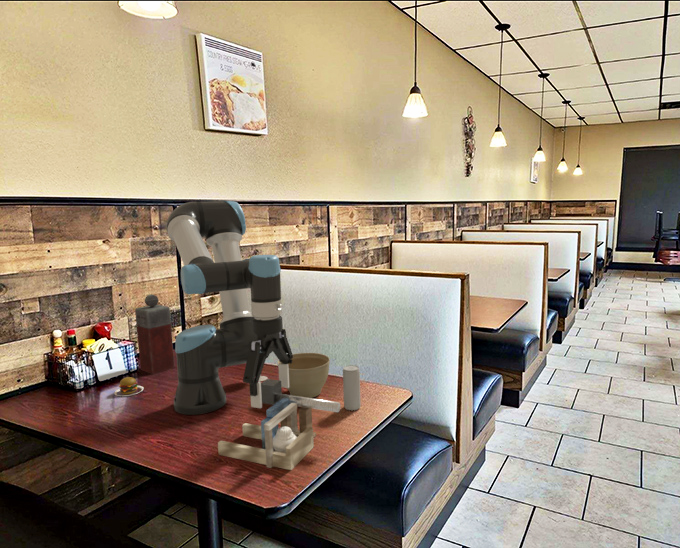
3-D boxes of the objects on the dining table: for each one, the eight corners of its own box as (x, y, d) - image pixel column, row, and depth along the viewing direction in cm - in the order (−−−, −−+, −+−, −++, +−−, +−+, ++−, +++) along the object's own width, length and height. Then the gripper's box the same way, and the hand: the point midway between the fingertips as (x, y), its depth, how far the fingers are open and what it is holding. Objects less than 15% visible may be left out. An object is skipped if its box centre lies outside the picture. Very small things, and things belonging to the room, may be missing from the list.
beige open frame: (216, 456, 115) (213, 415, 113) (247, 432, 126) (245, 395, 125) (289, 472, 107) (287, 428, 105) (315, 445, 118) (313, 406, 117)
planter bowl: (290, 382, 161) (288, 351, 160) (336, 386, 157) (335, 353, 155) (270, 401, 146) (268, 367, 144) (321, 406, 141) (320, 370, 140)
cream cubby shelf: (277, 436, 123) (276, 407, 122) (285, 430, 127) (284, 401, 126) (308, 442, 120) (307, 412, 119) (316, 435, 123) (314, 405, 122)
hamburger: (149, 384, 166) (147, 369, 165) (148, 397, 154) (147, 380, 154) (110, 390, 161) (109, 374, 161) (107, 403, 150) (105, 386, 149)
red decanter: (159, 362, 188) (153, 291, 184) (175, 367, 181) (168, 293, 177) (137, 368, 181) (130, 295, 177) (152, 374, 174) (145, 297, 170)
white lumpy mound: (291, 463, 110) (290, 434, 109) (267, 459, 112) (266, 431, 111) (302, 450, 116) (301, 422, 115) (279, 446, 118) (278, 419, 117)
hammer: (240, 449, 116) (237, 398, 115) (270, 425, 129) (267, 378, 127) (319, 465, 108) (316, 410, 106) (342, 438, 120) (341, 388, 118)
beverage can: (359, 411, 137) (358, 370, 135) (342, 410, 138) (341, 370, 136) (361, 404, 141) (360, 365, 140) (345, 404, 142) (344, 364, 141)
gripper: (251, 330, 109) (256, 419, 112) (303, 307, 132) (306, 381, 135) (224, 327, 112) (230, 414, 115) (279, 305, 135) (283, 378, 138)
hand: (271, 396), depth 125 cm, fingers open, 13 cm apart
